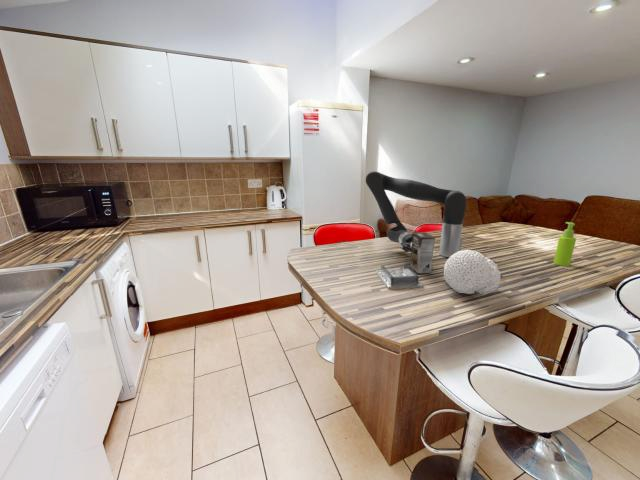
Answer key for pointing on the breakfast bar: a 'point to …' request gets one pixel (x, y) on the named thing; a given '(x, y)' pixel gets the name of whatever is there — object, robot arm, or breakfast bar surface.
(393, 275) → the clip bracket
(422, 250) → the coffee box
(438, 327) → the breakfast bar surface
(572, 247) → the soap dispenser
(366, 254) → the breakfast bar surface
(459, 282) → the white coral
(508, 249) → the breakfast bar surface
